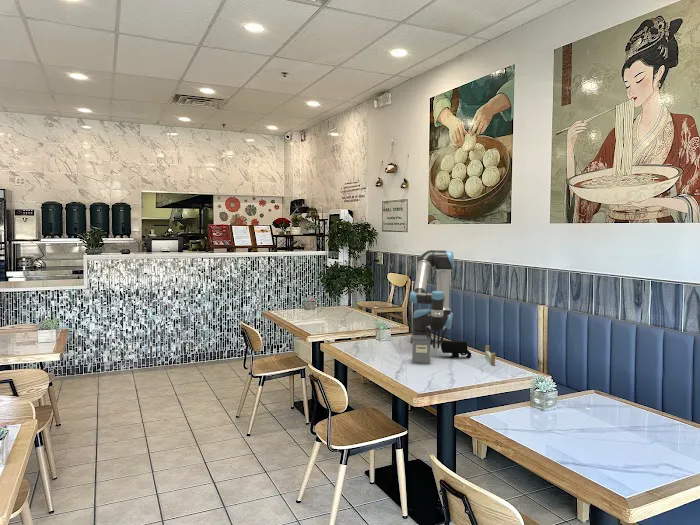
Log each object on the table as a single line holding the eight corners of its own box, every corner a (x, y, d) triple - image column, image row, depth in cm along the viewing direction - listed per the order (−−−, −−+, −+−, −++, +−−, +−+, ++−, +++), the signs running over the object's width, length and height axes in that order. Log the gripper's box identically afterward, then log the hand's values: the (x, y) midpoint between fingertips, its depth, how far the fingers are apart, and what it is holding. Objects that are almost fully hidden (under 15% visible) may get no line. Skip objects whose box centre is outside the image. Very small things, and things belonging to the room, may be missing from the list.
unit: (411, 358, 320) (411, 335, 319) (429, 359, 319) (429, 335, 318) (412, 363, 309) (412, 339, 308) (430, 364, 308) (431, 339, 307)
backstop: (485, 356, 328) (485, 345, 328) (488, 356, 328) (488, 345, 327) (491, 365, 307) (491, 353, 307) (494, 365, 307) (495, 353, 307)
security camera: (472, 359, 321) (472, 343, 321) (442, 358, 322) (442, 342, 321) (469, 356, 328) (470, 340, 328) (440, 355, 329) (440, 340, 328)
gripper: (426, 316, 321) (425, 354, 323) (448, 317, 320) (447, 355, 321) (426, 314, 329) (425, 351, 330) (447, 315, 327) (445, 352, 329)
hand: (435, 353), depth 326 cm, fingers closed
